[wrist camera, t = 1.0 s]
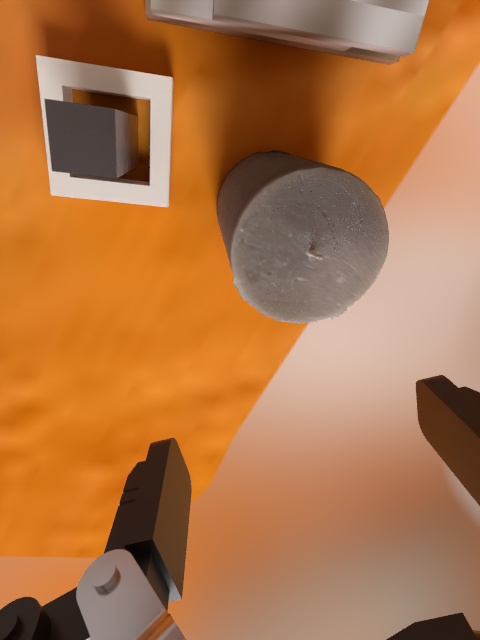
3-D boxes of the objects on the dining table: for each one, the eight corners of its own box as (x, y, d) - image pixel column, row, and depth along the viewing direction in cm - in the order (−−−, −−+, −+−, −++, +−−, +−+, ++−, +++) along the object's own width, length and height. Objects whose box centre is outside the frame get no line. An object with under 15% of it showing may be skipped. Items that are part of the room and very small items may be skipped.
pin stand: (61, 190, 30) (51, 195, 28) (48, 61, 26) (35, 55, 24) (169, 202, 32) (168, 207, 29) (173, 81, 28) (172, 77, 25)
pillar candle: (284, 125, 30) (354, 121, 17) (337, 219, 34) (427, 274, 21) (193, 197, 32) (193, 245, 19) (255, 278, 36) (290, 363, 23)
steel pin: (93, 160, 29) (51, 171, 21) (90, 109, 28) (44, 98, 19) (138, 165, 30) (117, 178, 21) (137, 116, 28) (114, 108, 20)
